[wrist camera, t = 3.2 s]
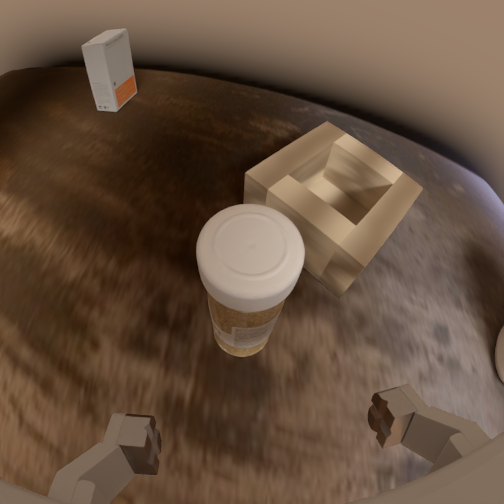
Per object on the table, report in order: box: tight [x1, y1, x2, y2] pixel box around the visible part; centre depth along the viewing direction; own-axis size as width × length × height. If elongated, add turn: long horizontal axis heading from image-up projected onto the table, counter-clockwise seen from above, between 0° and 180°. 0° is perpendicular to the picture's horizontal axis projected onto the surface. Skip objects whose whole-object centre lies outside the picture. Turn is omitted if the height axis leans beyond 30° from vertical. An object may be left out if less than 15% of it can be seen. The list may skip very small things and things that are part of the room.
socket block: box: [243, 122, 423, 298], centre depth 27 cm, size 12×12×6 cm
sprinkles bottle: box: [196, 204, 305, 357], centre depth 18 cm, size 5×5×13 cm
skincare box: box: [81, 28, 137, 112], centre depth 35 cm, size 6×4×12 cm
